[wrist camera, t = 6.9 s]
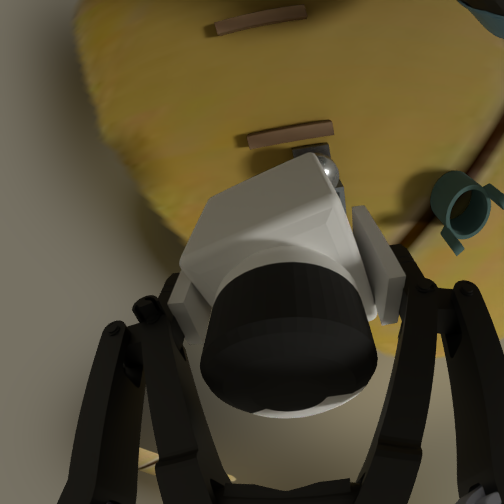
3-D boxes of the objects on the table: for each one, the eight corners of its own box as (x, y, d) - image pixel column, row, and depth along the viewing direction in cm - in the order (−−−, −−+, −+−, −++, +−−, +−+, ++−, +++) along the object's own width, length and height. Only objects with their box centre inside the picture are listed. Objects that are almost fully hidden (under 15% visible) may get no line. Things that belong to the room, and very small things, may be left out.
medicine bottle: (206, 197, 18) (133, 357, 8) (312, 148, 16) (381, 283, 6) (258, 279, 21) (245, 440, 11) (351, 244, 19) (404, 405, 9)
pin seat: (216, 24, 25) (214, 22, 24) (302, 7, 23) (303, 4, 21) (251, 146, 34) (250, 149, 32) (331, 132, 31) (334, 134, 30)
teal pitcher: (424, 222, 37) (450, 258, 30) (436, 164, 32) (471, 191, 24) (467, 224, 36) (495, 257, 29) (481, 171, 31) (516, 198, 24)
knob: (290, 147, 33) (293, 160, 29) (327, 141, 32) (336, 153, 28) (297, 181, 36) (300, 199, 31) (333, 176, 35) (341, 193, 30)
